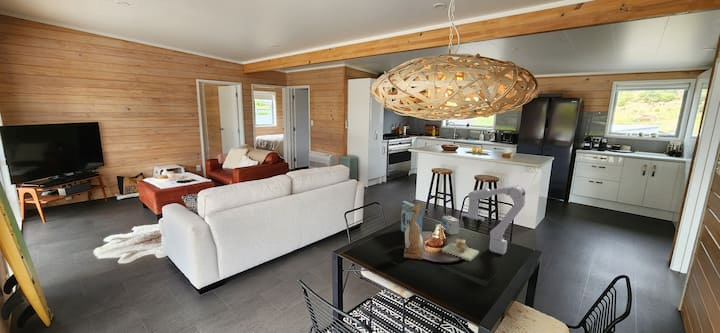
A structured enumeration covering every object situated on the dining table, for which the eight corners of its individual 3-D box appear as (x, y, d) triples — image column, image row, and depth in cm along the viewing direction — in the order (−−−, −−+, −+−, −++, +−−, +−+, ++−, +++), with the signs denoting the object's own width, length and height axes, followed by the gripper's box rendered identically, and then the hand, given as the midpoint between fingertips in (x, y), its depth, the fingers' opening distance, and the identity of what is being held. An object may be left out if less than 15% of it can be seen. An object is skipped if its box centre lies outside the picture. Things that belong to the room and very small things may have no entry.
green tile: (478, 253, 181) (479, 251, 180) (470, 261, 170) (470, 258, 170) (450, 244, 192) (451, 242, 192) (440, 251, 182) (441, 249, 182)
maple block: (464, 249, 183) (465, 239, 182) (464, 252, 178) (465, 242, 177) (455, 247, 184) (456, 238, 183) (455, 251, 180) (456, 241, 179)
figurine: (423, 248, 186) (425, 225, 183) (420, 256, 175) (421, 231, 173) (406, 245, 190) (407, 222, 187) (401, 252, 179) (403, 228, 177)
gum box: (421, 241, 196) (423, 208, 192) (414, 242, 194) (416, 209, 191) (406, 231, 214) (407, 200, 210) (400, 232, 212) (401, 201, 208)
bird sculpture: (402, 249, 182) (405, 199, 177) (422, 251, 181) (425, 200, 175) (403, 258, 171) (406, 204, 166) (424, 259, 170) (427, 205, 164)
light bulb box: (441, 230, 217) (442, 216, 215) (448, 229, 220) (449, 215, 218) (451, 235, 207) (452, 221, 206) (458, 234, 210) (459, 219, 209)
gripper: (486, 210, 191) (484, 230, 193) (464, 205, 200) (463, 224, 202) (482, 212, 185) (480, 233, 188) (460, 207, 195) (458, 227, 197)
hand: (471, 229), depth 195 cm, fingers open, 7 cm apart
